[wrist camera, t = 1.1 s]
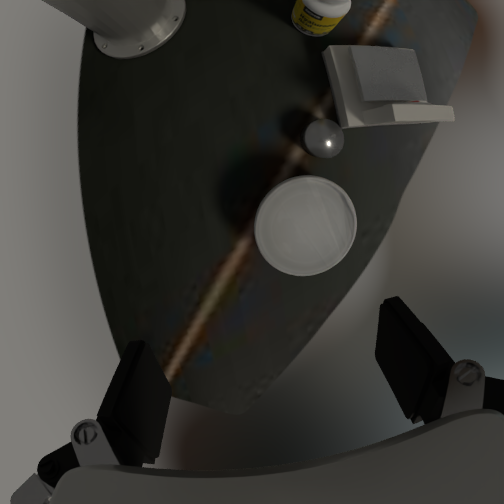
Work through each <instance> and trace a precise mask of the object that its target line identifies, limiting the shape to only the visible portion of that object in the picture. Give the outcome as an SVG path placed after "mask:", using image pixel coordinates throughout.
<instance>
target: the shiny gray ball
mask: <svg viewBox="0 0 504 504" xmlns="http://www.w3.org/2000/svg"><path fill="white" fill-rule="evenodd" d="M300 141H301V145H302V147H303V149H304V150H305V151H306V152H307V153H308V154H310V155H312V156H315V157H321V158H330V157H333V156H335V155H337V154H338V153H339V152H340V151H341V149H342V147H343V144H344V135H343V132H342V130H341V128H340V127H339V126H338V125H337V124H336V123H335V122H333V121H331V120H329V119H319V120H316V121H313V122H310V123H308V124H307V125H306V126H305V127H304V128H303V129H302V131H301V135H300Z"/></svg>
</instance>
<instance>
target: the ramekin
mask: <svg viewBox="0 0 504 504" xmlns="http://www.w3.org/2000/svg"><path fill="white" fill-rule="evenodd" d="M356 228H357V219H356V213H355V209H354V206H353V203H352V201H351V200H350V198H349V196H348V195H347V193H346V192H345V191H344V190H343V189H342V188H341V187H340V186H338V185H337V184H335V183H334V182H332V181H330V180H328V179H325V178H323V177H319V176H313V175H303V176H296V177H292V178H289V179H287V180H285V181H283V182H281V183H279V184H278V185H276V186H275V187H274V188H273V189H271V190H270V191H269V192H268V193H267V195H266V196H265V197H264V199H263V200H262V202H261V203H260V205H259V207H258V210H257V213H256V216H255V222H254V235H255V240H256V243H257V246H258V248H259V250H260V252H261V254H262V256H263V257H264V258H265V259H266V260H267V261H268V263H270V264H271V265H272V266H273V267H275V268H276V269H278V270H280V271H282V272H284V273H287V274H291V275H296V276H308V275H315V274H318V273H321V272H324V271H326V270H328V269H330V268H331V267H333V266H335V265H336V264H337V263H339V262H340V261H341V260H342V259H343V257H344V256H345V255H346V254H347V252H348V251H349V249H350V247H351V245H352V243H353V241H354V238H355V234H356Z"/></svg>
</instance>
